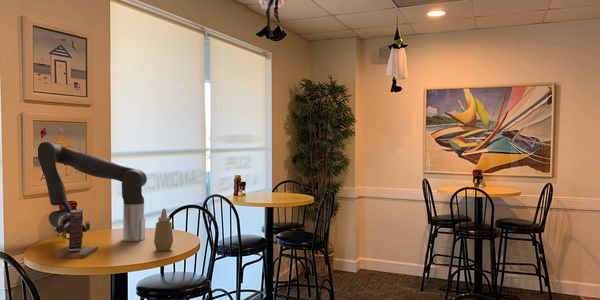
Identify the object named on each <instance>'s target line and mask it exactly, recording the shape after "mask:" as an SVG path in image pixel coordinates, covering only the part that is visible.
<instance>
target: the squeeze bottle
mask: <svg viewBox="0 0 600 300" xmlns="http://www.w3.org/2000/svg"><path fill="white" fill-rule="evenodd" d="M157 220H158V221H157V222H156V223H155V230H154V239H153V240H154V241H153V243H154V247H155V250H156V251H158V252H167V251H170V250H171V249H172V246H173V243H174V238H173V237H174V236H173V235H174V234H173V226H172V221H170V216H168V215H167V210H166V208H162V211H161V215H160V216H158V219H157Z"/></svg>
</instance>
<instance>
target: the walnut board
mask: <svg viewBox="0 0 600 300" xmlns="http://www.w3.org/2000/svg"><path fill="white" fill-rule="evenodd" d="M98 251H99V246H85V245H84V246H83V245H82V247H81V251H69V245H67V246H65V247H63V248H61V249H59V250H58V251H55V252H53V253H51V258H53V259H54V258H55V259H58V258H59V259H86V258H87V257H89V256H91V255H92V254H94V253H95V252H98Z"/></svg>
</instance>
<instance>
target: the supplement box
mask: <svg viewBox="0 0 600 300" xmlns="http://www.w3.org/2000/svg"><path fill="white" fill-rule="evenodd" d="M83 211H84V209H83V208H73V209H72V208H71V212H70V229H69V234H68V235H69V236H68V237H69V238H68V239H69V240H68V246H69V251H81V247H82V246H83V231H82V226H83V224H84V223H83V222H84V221H83V220H84V218H83V216H84V212H83Z"/></svg>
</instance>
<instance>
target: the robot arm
mask: <svg viewBox="0 0 600 300" xmlns="http://www.w3.org/2000/svg"><path fill="white" fill-rule="evenodd" d="M39 144H40V145H39ZM39 144H38V145H39V147H38V157H37V160H38V162H39V164H40V168H41V170H42V173H43V178H44V179H45V180H44V181H45V183H46V187H47V192H48V198H49V203H50V205H51V206H56V207H58V206H60V207H62V208H63V209H58V210H54V211H51V212H49V213H50V214H49V215H48V222H49V224H50V225H51V226H52V227H53V228H54V229H53V230H54V232H56V233H59V234H61V233H65V234H67V235H69V229H70V212H71V209H72V208H71V206H70V204H69V202H68V201H69V200H68V198H67V193H66V187H65V184H64V182H63V180H62V178H61V176H60V174H59V172H58V169H57V165H56V164H57V163H58V164H62V165H65V166H69V167H71V168H73V169H75V170H76V171H79V172H80V173H82V174H85V175H88V176H91V177H94V178H95V177H96V178H101V179H106V180H107V179H108V180H115V181H118V182H121V196H122V197H121V198H122V201H123V203H122V205H123V206H122V207H123V211H122V212H123V213H122V215H123V217H122V220H123V221H122V231H123V232H122V234H123V235H122V237H123V238H122V240H123V241H125V242H141V241H143V240H144V239H146V218H145V198H144V196H143V192H142V191H143V190H142V187H144V186H145V185H146V184H147V182H148V177H147V174H146V173H145V172H144V171H143V170H141V169H137V168H133V167H129V166H124V165H120V164H117V163H115V162H112V161H110V160H107V159H105V158H102V157H99V156H95V155H93V154H88V153H84V152H79V151H74V150H72V149H69V148H67V147H65V146H62V145H61V144H58V143H56V142H50V141H42V142H39ZM90 230H91V223H90V221H86V222H84V223H83V226H82V233H87V232H88V231H90Z"/></svg>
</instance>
